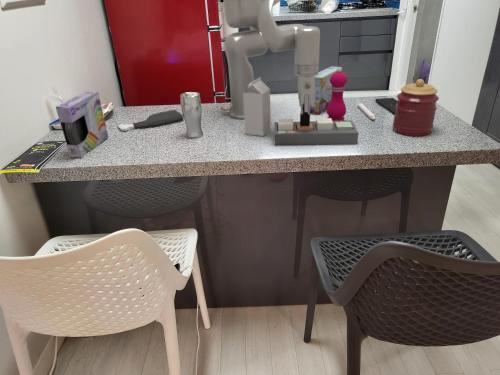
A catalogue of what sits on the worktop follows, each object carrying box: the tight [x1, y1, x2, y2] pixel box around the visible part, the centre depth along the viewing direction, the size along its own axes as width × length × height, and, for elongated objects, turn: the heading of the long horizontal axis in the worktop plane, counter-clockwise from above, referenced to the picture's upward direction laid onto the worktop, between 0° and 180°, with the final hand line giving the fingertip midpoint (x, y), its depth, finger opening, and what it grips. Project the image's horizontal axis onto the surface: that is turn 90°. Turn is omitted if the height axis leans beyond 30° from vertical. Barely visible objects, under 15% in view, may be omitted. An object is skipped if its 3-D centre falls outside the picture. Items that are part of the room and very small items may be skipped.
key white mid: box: [315, 117, 333, 130], centre depth 125 cm, size 5×5×4 cm
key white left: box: [277, 118, 294, 131], centre depth 126 cm, size 5×5×4 cm
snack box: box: [310, 66, 343, 116], centre depth 154 cm, size 21×6×15 cm, turn 147°
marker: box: [357, 102, 376, 121], centre depth 148 cm, size 18×2×2 cm, turn 3°
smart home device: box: [374, 97, 398, 116], centre depth 153 cm, size 8×2×20 cm
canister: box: [392, 78, 440, 137], centre depth 126 cm, size 13×13×18 cm
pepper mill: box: [325, 68, 348, 121], centre depth 136 cm, size 7×7×20 cm
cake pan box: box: [55, 90, 109, 159], centre depth 125 cm, size 19×5×18 cm, turn 170°
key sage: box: [335, 122, 353, 130], centre depth 126 cm, size 5×5×4 cm
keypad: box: [273, 119, 359, 147], centre depth 127 cm, size 27×12×4 cm, turn 86°
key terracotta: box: [297, 123, 313, 131], centre depth 127 cm, size 5×5×4 cm
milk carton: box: [243, 76, 272, 137], centre depth 131 cm, size 7×7×19 cm
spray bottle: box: [117, 109, 184, 132], centre depth 149 cm, size 3×11×24 cm
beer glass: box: [180, 91, 204, 139], centre depth 132 cm, size 7×7×15 cm
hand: (304, 124), depth 126 cm, fingers closed
